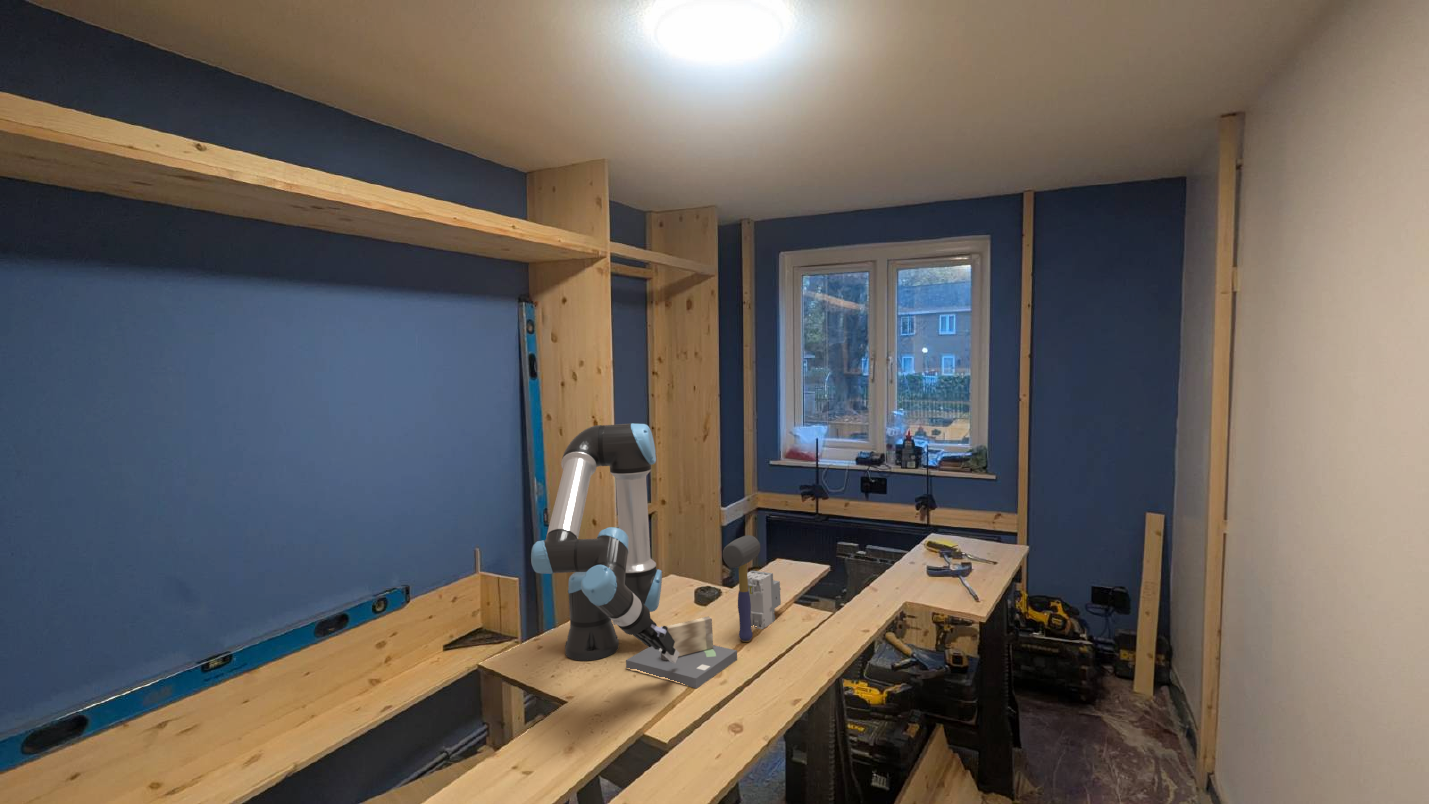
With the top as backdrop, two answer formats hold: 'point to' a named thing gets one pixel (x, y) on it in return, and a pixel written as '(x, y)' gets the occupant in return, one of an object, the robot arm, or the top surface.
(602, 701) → the top surface
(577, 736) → the top surface
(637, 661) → the board
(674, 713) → the top surface
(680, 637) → the wooden block
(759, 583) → the circuit breaker
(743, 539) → the rubber mallet
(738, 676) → the top surface
